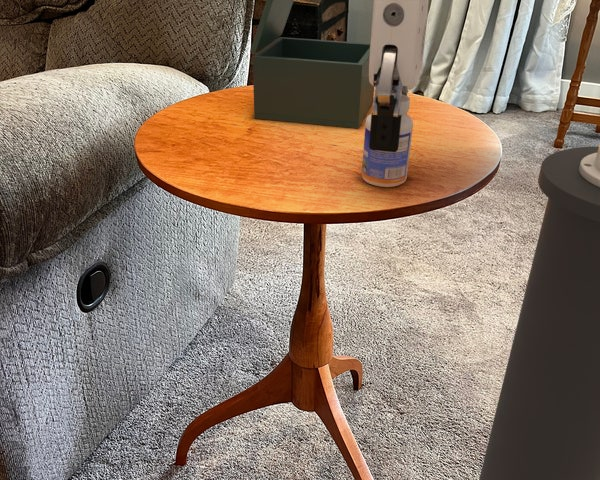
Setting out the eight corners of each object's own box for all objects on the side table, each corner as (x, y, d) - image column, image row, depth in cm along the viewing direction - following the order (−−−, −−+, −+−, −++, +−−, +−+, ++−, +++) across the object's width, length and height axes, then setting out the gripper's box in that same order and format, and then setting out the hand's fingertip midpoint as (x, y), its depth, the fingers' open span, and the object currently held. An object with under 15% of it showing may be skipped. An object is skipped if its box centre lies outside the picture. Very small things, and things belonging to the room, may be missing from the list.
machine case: (373, 101, 103) (377, 43, 98) (358, 128, 92) (362, 64, 87) (279, 93, 106) (279, 36, 101) (254, 118, 95) (252, 56, 90)
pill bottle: (366, 168, 80) (372, 88, 74) (410, 173, 78) (419, 92, 73) (356, 184, 75) (362, 101, 70) (402, 191, 74) (411, 106, 69)
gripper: (434, -23, 57) (411, 172, 67) (447, -43, 70) (426, 121, 80) (350, -27, 58) (340, 164, 68) (379, -46, 72) (367, 115, 82)
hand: (387, 139), depth 74 cm, fingers closed on pill bottle, 5 cm apart
